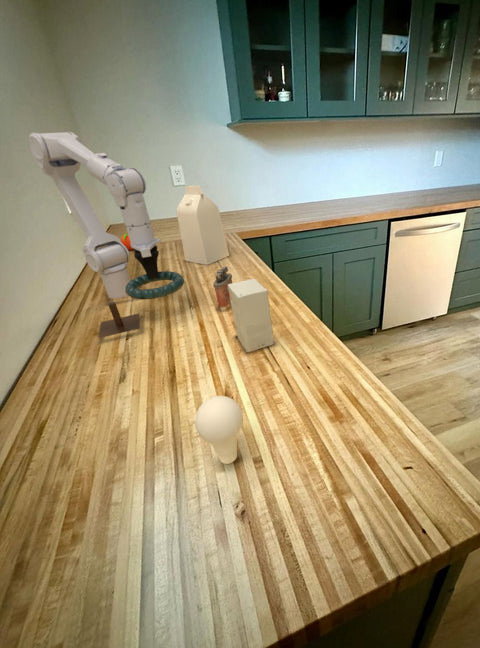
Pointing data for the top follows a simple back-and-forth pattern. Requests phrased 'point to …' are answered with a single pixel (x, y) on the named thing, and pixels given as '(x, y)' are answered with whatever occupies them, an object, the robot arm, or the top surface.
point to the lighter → (222, 286)
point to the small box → (251, 314)
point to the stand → (118, 323)
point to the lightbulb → (220, 425)
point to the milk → (201, 228)
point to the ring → (155, 292)
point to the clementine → (126, 241)
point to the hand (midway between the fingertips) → (153, 276)
